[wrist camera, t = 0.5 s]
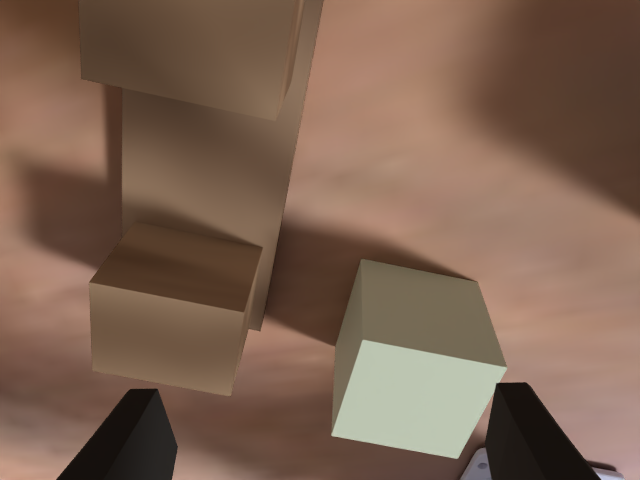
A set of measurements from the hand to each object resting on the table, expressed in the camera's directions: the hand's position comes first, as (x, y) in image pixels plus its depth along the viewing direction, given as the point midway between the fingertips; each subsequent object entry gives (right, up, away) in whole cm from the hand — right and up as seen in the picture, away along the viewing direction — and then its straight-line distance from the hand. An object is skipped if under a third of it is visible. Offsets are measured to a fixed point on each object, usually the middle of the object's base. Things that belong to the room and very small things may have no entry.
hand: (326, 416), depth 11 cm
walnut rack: (-4, +7, +8) cm, 12 cm away
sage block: (+4, +1, +12) cm, 12 cm away
